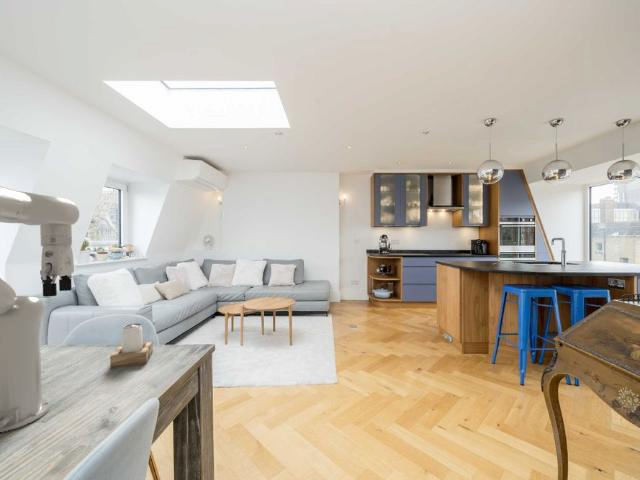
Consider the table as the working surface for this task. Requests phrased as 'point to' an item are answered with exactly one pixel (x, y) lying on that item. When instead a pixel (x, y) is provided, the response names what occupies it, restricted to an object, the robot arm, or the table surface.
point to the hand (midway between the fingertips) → (58, 293)
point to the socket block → (131, 356)
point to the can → (132, 338)
